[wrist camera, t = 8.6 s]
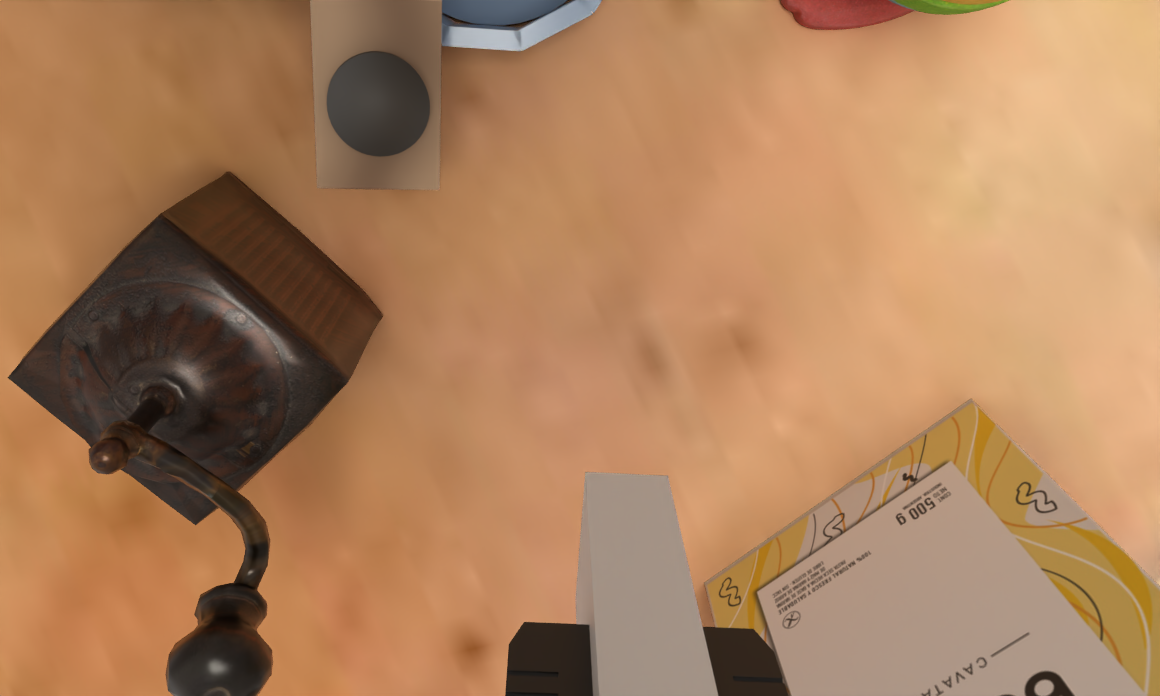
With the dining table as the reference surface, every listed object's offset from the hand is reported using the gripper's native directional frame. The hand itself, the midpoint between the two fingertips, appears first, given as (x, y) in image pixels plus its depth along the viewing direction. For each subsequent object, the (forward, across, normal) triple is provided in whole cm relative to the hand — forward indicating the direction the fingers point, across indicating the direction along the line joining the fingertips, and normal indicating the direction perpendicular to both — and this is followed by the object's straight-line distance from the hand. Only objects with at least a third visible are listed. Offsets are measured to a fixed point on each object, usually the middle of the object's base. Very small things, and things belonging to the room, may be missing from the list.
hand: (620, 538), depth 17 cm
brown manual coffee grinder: (+31, -15, -9) cm, 35 cm away
